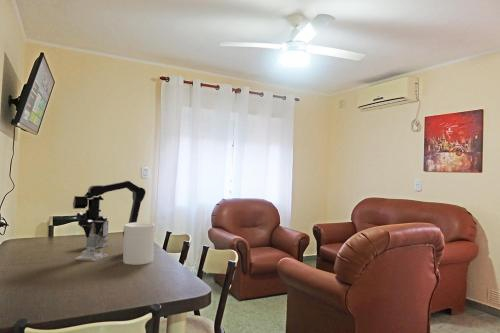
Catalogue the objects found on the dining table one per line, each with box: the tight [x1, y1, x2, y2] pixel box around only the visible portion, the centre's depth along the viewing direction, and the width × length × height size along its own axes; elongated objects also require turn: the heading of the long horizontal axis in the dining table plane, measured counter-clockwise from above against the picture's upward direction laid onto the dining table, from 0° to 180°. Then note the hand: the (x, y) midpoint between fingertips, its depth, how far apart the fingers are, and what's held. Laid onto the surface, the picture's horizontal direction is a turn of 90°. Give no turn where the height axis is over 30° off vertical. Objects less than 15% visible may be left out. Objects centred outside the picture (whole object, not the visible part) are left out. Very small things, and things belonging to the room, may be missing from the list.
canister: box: [122, 221, 156, 266], centre depth 186 cm, size 16×16×20 cm
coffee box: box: [90, 220, 109, 248], centre depth 216 cm, size 9×6×16 cm
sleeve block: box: [74, 248, 109, 262], centre depth 188 cm, size 12×12×4 cm
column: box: [85, 234, 99, 250], centre depth 188 cm, size 4×4×7 cm
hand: (92, 235), depth 188 cm, fingers open, 9 cm apart
